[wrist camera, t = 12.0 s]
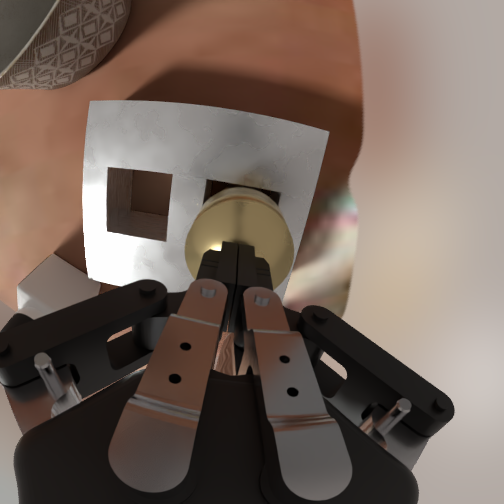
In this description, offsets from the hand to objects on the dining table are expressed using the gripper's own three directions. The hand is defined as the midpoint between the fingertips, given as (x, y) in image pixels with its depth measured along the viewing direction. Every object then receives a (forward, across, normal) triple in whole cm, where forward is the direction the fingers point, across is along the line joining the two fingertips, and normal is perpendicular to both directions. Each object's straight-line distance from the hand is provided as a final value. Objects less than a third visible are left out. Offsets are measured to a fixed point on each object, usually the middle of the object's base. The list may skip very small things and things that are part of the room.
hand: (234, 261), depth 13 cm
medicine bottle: (+11, +18, +13) cm, 24 cm away
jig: (+10, +4, 0) cm, 11 cm away
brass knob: (+10, 0, 0) cm, 11 cm away
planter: (+11, +18, -15) cm, 26 cm away
